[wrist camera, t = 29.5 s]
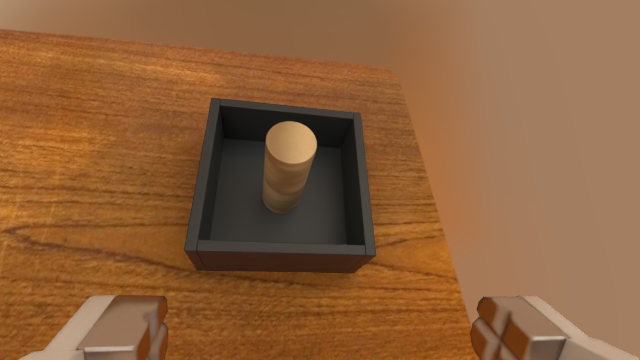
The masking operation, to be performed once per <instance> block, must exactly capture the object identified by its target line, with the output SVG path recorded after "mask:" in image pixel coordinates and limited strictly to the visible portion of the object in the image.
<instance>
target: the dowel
mask: <svg viewBox="0 0 640 360" xmlns="http://www.w3.org/2000/svg"><path fill="white" fill-rule="evenodd" d="M316 148H317V141H316V138H315V135H314V134H313V132H312V131H311V130H310V129H309V128H308V127H306V126H305V125H303V124H301V123H298V122H292V121H286V122H281V123H278V124H276V125H275V126H273V127H272V128H271V129H270V130H269V132H268V133H267V136H266V144H265V160H264V177H263V193H262V198H263V202H264V204H265V205H266V207H267V208H268V209H270V210H271V211H273V212H275V213H280V214H284V213H289V212H291V211H293V210H294V209H295V208H296V207H297V206H298V205H299V203H300V200H301V197H302V193H303V190H304V187H305V184H306V181H307V177H308V174H309V171H310V168H311V165H312V161H313V158H314V155H315V152H316Z"/></svg>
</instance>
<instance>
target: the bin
mask: <svg viewBox="0 0 640 360" xmlns="http://www.w3.org/2000/svg"><path fill="white" fill-rule="evenodd" d="M286 121H292V122H298V123H301V124H303V125H305V126H306V127H308V128H309V129H310V130H311V131H312V132H313V134H314V135H315V138H316V141H317V148H316V152H315V155H314V158H313V161H312V165H311V168H310V171H309V174H308V177H307V181H306V184H305V187H304V190H303V193H302V197H301V200H300V203H299V205H298V206H297V207H296V208H295V209H294V210H293V211H291V212H289V213H284V214H280V213H275V212H273V211H271V210H270V209H268V208H267V207H266V205H265V204H264V202H263V198H262V193H263V177H264V160H265V144H266V136H267V133H268V132H269V130H270V129H271V128H272V127H273V126H275V125H276V124H278V123H281V122H286ZM184 251H185V252H186V254H187V255H188V257H189V258H190V260H191V261H192V263H193V264H194V266H195V267H196V269H197V270H205V271H268V272H331V273H354V272H356V271H357V270H358V269H359V268H361V267H362V266H363V265H365V264H366V263H367V262H368V261H370V260H371V259H372V258H373V257H375V256H376V250H375V241H374V232H373V222H372V213H371V204H370V194H369V185H368V176H367V167H366V157H365V148H364V139H363V130H362V120H361V113H354V112H353V113H352V112H344V111H335V110H325V109H316V108H306V107H297V106H287V105H278V104H268V103H259V102H249V101H240V100H230V99H220V98H211V103H210V109H209V114H208V120H207V125H206V131H205V137H204V142H203V148H202V153H201V159H200V164H199V170H198V175H197V181H196V187H195V192H194V198H193V203H192V209H191V214H190V220H189V226H188V231H187V237H186V242H185V248H184Z"/></svg>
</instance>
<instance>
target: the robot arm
mask: <svg viewBox="0 0 640 360" xmlns="http://www.w3.org/2000/svg"><path fill="white" fill-rule="evenodd" d="M477 311H478V313H479V316H480V317H478V318H477V319H476V320H475V321H474V322H473V324H472V328H471V332H470V335H471V342H472V346H473V348H474V351H475V353H476V354H477V356H478V357H479V358H480V360H640V359H639V358H637V357H635V356H633V355H631V354H629V353H627V352H624V351H622V350H620V349H618V348H616V347H614V346H612V345H609V344H607V343H605V342H603V341H601V340H599V339H596V338H589V337H588V336H587V335H586V334H585V333H583V332H582V331H580V330H579V329H578V328H577V327H576V326H574V325H573V324H572V323H571V322H570V321H568V320H567V319H566V318H564V317H563V316H562V315H561V314H560V313H558V312H557V311H556V310H554V309H553V308H552V307H551V306H550V305H548V304H547V303H546V302H544V301H543V300H542V299H541V298H539V297H536V296H516V297H483V298H482V299H481V300H480V301H479V303H478V307H477ZM167 312H168V309H167V299H166V297H165V296H139V295H118V296H117V295H94V296H91V297H89V298H88V299H87V300H86V301H85V302H84V304H83V305H82V306H81V307H80V308H79V309H78V311H77V312H76V313H75V314H74V315H73V316H72V318H71V319H70V320H69V321H68V322H67V323H66V324H65V326H64V327H63V328H62V329H61V330H60V331H59V333H58V334H57V335H56V336H55V337H54V338H53V340H52V341H51V342H50V343H49V344H48V345H47V347H46V348H45V349H44V350H43V351H34V352H32V353H30V354H28V355H26V356H24V357H23V358H21V359H19V360H165V355H166V351H167V346H168V327H167V326H166V324H165V323H164V322H163V321H164V318H165V316H166V314H167Z"/></svg>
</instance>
